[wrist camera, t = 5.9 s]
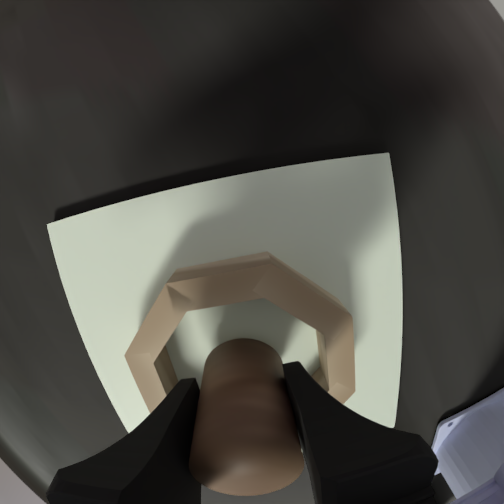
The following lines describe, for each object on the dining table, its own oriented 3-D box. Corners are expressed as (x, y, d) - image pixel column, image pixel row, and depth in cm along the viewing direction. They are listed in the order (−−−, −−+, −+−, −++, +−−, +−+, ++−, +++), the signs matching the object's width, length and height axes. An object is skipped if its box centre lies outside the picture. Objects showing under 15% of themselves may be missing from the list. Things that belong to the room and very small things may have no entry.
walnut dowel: (279, 332, 12) (301, 427, 7) (286, 394, 13) (305, 488, 8) (196, 343, 12) (174, 439, 7) (213, 403, 13) (204, 497, 8)
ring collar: (331, 239, 13) (346, 248, 11) (345, 406, 15) (355, 430, 13) (120, 279, 13) (102, 294, 11) (179, 432, 15) (173, 457, 13)
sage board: (383, 153, 13) (388, 152, 12) (391, 421, 16) (394, 426, 16) (53, 222, 13) (46, 224, 12) (150, 459, 16) (148, 465, 16)
